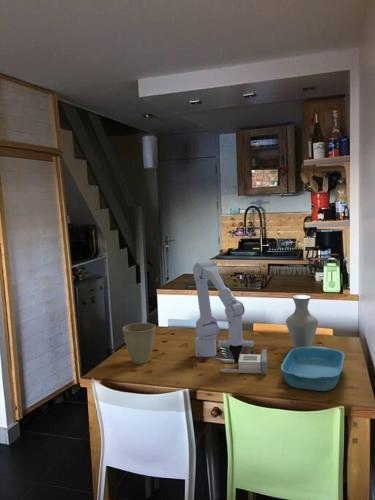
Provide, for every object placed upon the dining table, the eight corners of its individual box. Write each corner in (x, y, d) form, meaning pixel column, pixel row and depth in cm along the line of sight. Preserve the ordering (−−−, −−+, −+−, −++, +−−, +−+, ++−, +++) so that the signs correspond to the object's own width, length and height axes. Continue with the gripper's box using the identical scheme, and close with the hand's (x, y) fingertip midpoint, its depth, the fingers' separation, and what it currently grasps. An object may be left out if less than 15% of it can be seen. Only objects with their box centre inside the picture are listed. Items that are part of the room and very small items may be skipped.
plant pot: (146, 368, 190) (144, 333, 188) (118, 364, 196) (116, 330, 194) (163, 357, 203) (161, 323, 201) (135, 353, 209) (133, 321, 208)
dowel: (240, 358, 197) (240, 343, 196) (241, 355, 201) (240, 340, 200) (249, 358, 196) (249, 343, 195) (250, 355, 200) (249, 340, 199)
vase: (315, 343, 213) (314, 293, 210) (321, 353, 198) (320, 299, 196) (284, 343, 214) (283, 293, 211) (288, 353, 200) (287, 300, 197)
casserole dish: (293, 358, 195) (292, 342, 194) (346, 363, 186) (346, 347, 185) (276, 392, 161) (275, 373, 160) (339, 400, 152) (339, 380, 152)
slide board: (217, 376, 178) (217, 371, 178) (221, 362, 193) (221, 357, 193) (267, 377, 174) (267, 372, 174) (267, 363, 190) (267, 358, 189)
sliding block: (238, 371, 179) (238, 361, 179) (240, 363, 188) (240, 354, 188) (261, 371, 178) (260, 362, 177) (261, 363, 187) (261, 354, 186)
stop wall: (261, 375, 175) (261, 361, 174) (262, 361, 189) (261, 349, 189) (266, 375, 174) (266, 361, 174) (267, 361, 189) (266, 349, 189)
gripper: (217, 333, 180) (218, 365, 181) (252, 334, 177) (253, 366, 179) (219, 328, 187) (220, 359, 188) (253, 329, 184) (254, 360, 185)
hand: (236, 362), depth 184 cm, fingers closed
